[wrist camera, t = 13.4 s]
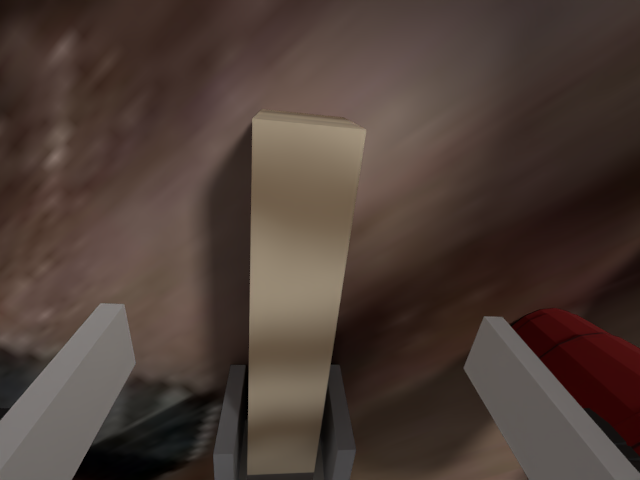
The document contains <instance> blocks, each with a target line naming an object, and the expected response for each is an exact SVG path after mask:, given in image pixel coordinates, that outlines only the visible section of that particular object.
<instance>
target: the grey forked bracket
mask: <svg viewBox="0 0 640 480" xmlns="http://www.w3.org/2000/svg"><path fill="white" fill-rule="evenodd" d="M245 397H246V365H230V371H229V376H228V381H227V386H226V391H225V396H224V401H223V407H222V412H221V417H220V422H219V427H218V432H217V437H216V442H215V448H214V453H213V461H214V478H215V480H247V454H248V420H245ZM355 453H356V446H355V441H354V436H353V431H352V426H351V421H350V416H349V411H348V406H347V400H346V395H345V390H344V385H343V380H342V375H341V370H340V365H330V371H329V378H328V384H327V391H326V398H325V404H324V411H323V417H322V424H321V430H320V437H319V443H318V450H317V456H316V463H315V469H314V476H313V480H349V479H350V475H351V470H352V466H353V461H354V457H355Z"/></svg>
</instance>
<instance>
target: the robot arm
mask: <svg viewBox="0 0 640 480" xmlns="http://www.w3.org/2000/svg"><path fill="white" fill-rule="evenodd" d="M135 364H136V361H135V356H134V351H133V346H132V341H131V336H130V331H129V325H128V320H127V315H126V310H125V305H124V304H103V303H100V305H99V306H98V307H97V308H96V309H95V310H94V312H93V313H92V314H91V315H90V316H89V317H88V319H87V320H86V321H85V322H84V323H83V324H82V326H81V327H80V328H79V329H78V330H77V331H76V333H75V334H74V335H73V336H72V337H71V338H70V340H69V341H68V342H67V343H66V344H65V345H64V347H63V348H62V349H61V350H60V351H59V352H58V354H57V355H56V356H55V357H54V358H53V360H52V361H51V362H50V363H49V364H48V365H47V367H46V368H45V369H44V370H43V371H42V372H41V374H40V375H39V376H38V377H37V378H36V379H35V381H34V382H33V383H32V384H31V385H30V386H29V388H28V389H27V390H26V391H25V392H24V393H23V395H22V396H21V397H20V398H19V399H18V400H17V402H16V403H15V404H14V405H13V406H12V407H11V408H0V480H72V478H73V477H74V475H75V473H76V471H77V469H78V467H79V466H80V464H81V462H82V460H83V458H84V457H85V455H86V453H87V451H88V449H89V448H90V446H91V444H92V442H93V440H94V438H95V437H96V435H97V433H98V431H99V429H100V428H101V426H102V424H103V422H104V420H105V418H106V417H107V415H108V413H109V411H110V409H111V408H112V406H113V404H114V402H115V400H116V399H117V397H118V395H119V393H120V391H121V389H122V388H123V386H124V384H125V382H126V380H127V379H128V377H129V375H130V373H131V371H132V369H133V368H134V366H135ZM463 369H464V370H465V372H466V374H467V375H468V377H469V379H470V380H471V382H472V384H473V386H474V387H475V389H476V391H477V392H478V394H479V396H480V397H481V399H482V401H483V403H484V404H485V406H486V408H487V409H488V411H489V413H490V415H491V416H492V418H493V420H494V421H495V423H496V425H497V426H498V428H499V430H500V432H501V433H502V435H503V437H504V438H505V440H506V442H507V443H508V445H509V447H510V449H511V450H512V452H513V454H514V455H515V457H516V459H517V460H518V462H519V464H520V466H521V467H522V469H523V471H524V472H525V474H526V476H527V477H528V479H529V480H640V456H639V455H638V454H637V453H636V452H635V451H634V450H633V449H632V447H631V446H628V445H627V444H626V441H625V440H624V439H623V438H622V437H621V435H620V434H619V433H618V432H617V431H616V430H615V429H614V428H613V427H612V426H611V425H610V424H609V423H608V422H607V421H606V420H604V419H603V418H602V417H600V416H599V415H598V414H596V413H595V412H594V411H593V410H591V409H590V408H582V407H581V406H580V405H579V404H578V403H577V401H576V400H575V399H574V398H573V397H572V396H571V395H570V393H569V392H568V391H567V390H566V389H565V388H564V387H563V385H562V384H561V383H560V382H559V381H558V380H557V379H556V377H555V376H554V375H553V374H552V373H551V372H550V371H549V369H548V368H547V367H546V366H545V365H544V364H543V363H542V362H541V360H540V359H539V358H538V357H537V356H536V355H535V354H534V352H533V351H532V350H531V349H530V348H529V347H528V346H527V344H526V343H525V342H524V341H523V340H522V339H521V338H520V336H519V335H518V334H517V333H516V332H515V331H514V330H513V328H512V327H511V326H510V325H509V324H508V323H507V322H506V320H505V319H504V318H503V317H486V316H484V318H483V320H482V323H481V325H480V328H479V330H478V333H477V335H476V338H475V340H474V343H473V345H472V348H471V350H470V353H469V355H468V358H467V360H466V363H465V365H464V368H463Z"/></svg>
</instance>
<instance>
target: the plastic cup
mask: <svg viewBox="0 0 640 480" xmlns="http://www.w3.org/2000/svg"><path fill="white" fill-rule="evenodd" d="M512 328H513V330H514V331H515V332H516V333H517V334H518V335H519V336H520V338H521V339H522V340H523V341H524V342H525V343H526V344H527V346H528V347H529V348H530V349H531V350H532V351H533V352H534V354H535V355H536V356H537V357H538V358H539V359H540V360H541V362H542V363H543V364H544V365H545V366H546V367H547V368H548V369H549V371H550V372H551V373H552V374H553V375H554V376H555V377H556V379H557V380H558V381H559V382H560V383H561V384H562V385H563V387H564V388H565V389H566V390H567V391H568V392H569V393H570V395H571V396H572V397H573V398H574V399H575V400H576V401H577V403H578V404H579V405H580V406H581V407H582V408H590V409H591V410H593V411H594V412H595V413H596V414H598V415H599V416H600V417H602V418H603V419H604V420H606V421H607V422H608V423H609V424H610V425H611V426H612V427H613V428H614V429H615V430H616V431H617V432H618V433H619V434H620V435H621V437H622V438H623V439H624V440H625V441H626V444H627V445H628V446H631V447H632V449H633V450H634V451H635V452H636V453H637V454H638V455H639V456H640V348H638V347H636V346H635V345H633V344H631V343H629V342H627V341H626V340H624V339H622V338H620V337H618V336H614V335H611V334H610V333H608V332H606V331H604V330H603V329H601V328H599V327H597V326H596V325H594V324H592V323H590V322H589V321H587V320H585V319H583V318H581V317H580V316H578V315H575V314H571V313H570V312H568V311H564V310H561V309H557V308H550V309H541V310H538V311H536V312H533V313H531V314H528V315H526V316H524V317H523V318H522V319H520V320H519V321H518V322H516V323H515V324H514V325H513V326H512Z"/></svg>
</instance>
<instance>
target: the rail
mask: <svg viewBox="0 0 640 480" xmlns="http://www.w3.org/2000/svg"><path fill="white" fill-rule="evenodd" d="M365 136H366V129H364V128H362V127H360V126H359V125H357V124H355V123H353V122H351V121H349V120H347V119H346V118H343V117H333V116H323V115H313V114H303V113H294V112H284V111H274V110H264V109H262V110H261V111H260V112H259V113H258V114H257V115H256V116H255V117H254V118H253V119H252V183H251V251H250V318H249V386H248V454H247V480H313V476H314V469H315V463H316V456H317V450H318V443H319V437H320V430H321V424H322V417H323V411H324V404H325V398H326V391H327V384H328V378H329V371H330V365H331V358H332V352H333V345H334V339H335V332H336V326H337V319H338V312H339V306H340V299H341V293H342V286H343V280H344V273H345V267H346V260H347V254H348V247H349V241H350V234H351V227H352V221H353V214H354V208H355V201H356V195H357V188H358V182H359V175H360V169H361V162H362V156H363V149H364V142H365Z"/></svg>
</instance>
